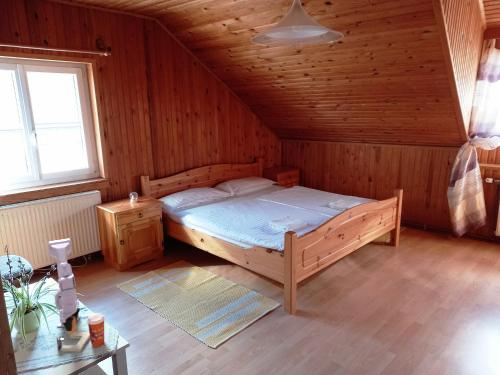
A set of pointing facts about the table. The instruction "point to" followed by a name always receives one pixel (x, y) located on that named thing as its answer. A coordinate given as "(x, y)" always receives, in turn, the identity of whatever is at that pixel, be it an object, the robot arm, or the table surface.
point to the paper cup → (96, 329)
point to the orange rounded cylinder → (73, 326)
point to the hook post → (59, 343)
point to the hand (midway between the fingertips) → (71, 327)
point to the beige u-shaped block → (80, 345)
